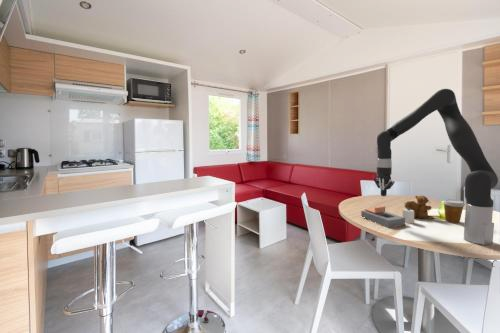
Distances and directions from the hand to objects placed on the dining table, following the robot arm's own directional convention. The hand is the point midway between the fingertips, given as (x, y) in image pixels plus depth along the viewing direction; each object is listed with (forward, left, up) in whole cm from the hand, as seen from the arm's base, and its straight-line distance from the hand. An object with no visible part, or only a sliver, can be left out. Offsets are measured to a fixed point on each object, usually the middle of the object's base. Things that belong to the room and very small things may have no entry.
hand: (383, 195), depth 145 cm
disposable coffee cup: (-15, -35, -15) cm, 41 cm away
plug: (-6, -12, -15) cm, 21 cm away
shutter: (+6, 0, -11) cm, 12 cm away
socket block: (+1, 0, -15) cm, 15 cm away
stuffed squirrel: (-2, -26, -15) cm, 30 cm away
